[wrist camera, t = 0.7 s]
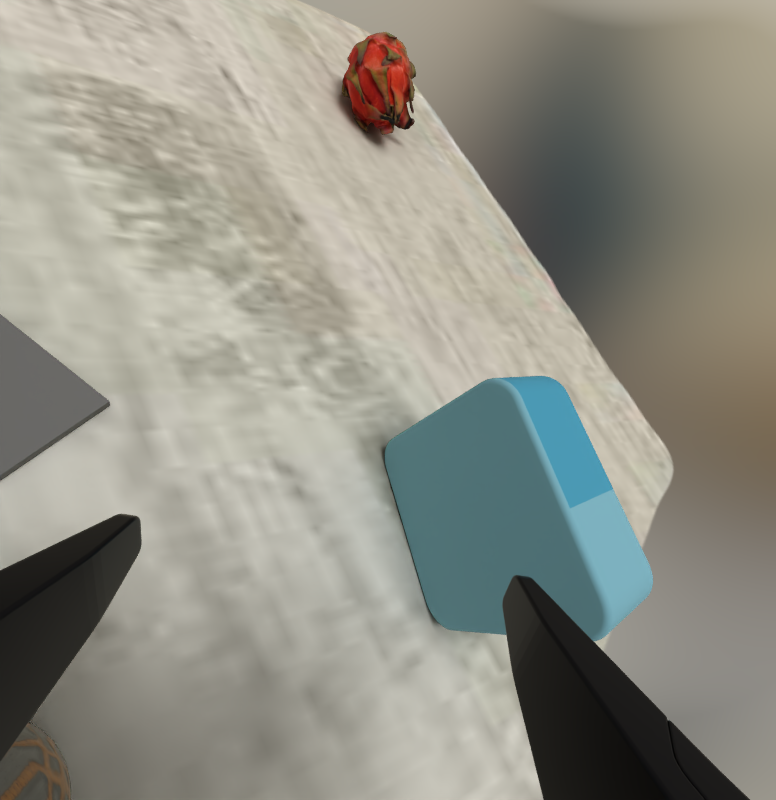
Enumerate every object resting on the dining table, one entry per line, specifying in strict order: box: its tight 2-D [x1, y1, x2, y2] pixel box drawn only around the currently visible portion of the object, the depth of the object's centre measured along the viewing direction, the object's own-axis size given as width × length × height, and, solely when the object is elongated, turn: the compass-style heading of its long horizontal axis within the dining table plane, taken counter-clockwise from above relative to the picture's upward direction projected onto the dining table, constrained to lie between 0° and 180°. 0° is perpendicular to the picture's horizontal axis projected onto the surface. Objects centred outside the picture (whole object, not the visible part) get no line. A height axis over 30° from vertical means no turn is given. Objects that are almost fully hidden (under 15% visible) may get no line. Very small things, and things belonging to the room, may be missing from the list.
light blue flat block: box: [385, 376, 653, 641], centre depth 22 cm, size 12×4×12 cm, turn 19°
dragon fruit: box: [342, 32, 416, 135], centre depth 43 cm, size 8×8×12 cm
